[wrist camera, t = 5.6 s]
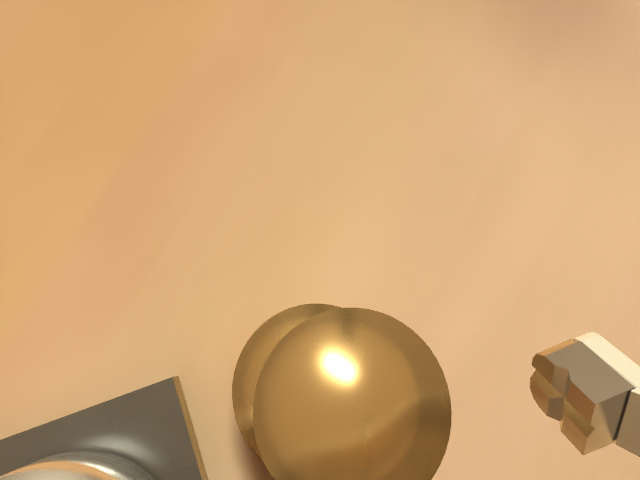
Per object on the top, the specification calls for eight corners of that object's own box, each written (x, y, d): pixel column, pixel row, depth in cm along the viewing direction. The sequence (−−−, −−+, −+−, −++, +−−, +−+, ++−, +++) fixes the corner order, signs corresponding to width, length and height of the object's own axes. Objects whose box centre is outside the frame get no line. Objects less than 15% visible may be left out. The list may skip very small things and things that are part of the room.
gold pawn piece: (407, 430, 17) (544, 500, 9) (264, 491, 16) (258, 638, 8) (354, 290, 19) (428, 228, 10) (217, 339, 18) (165, 317, 9)
